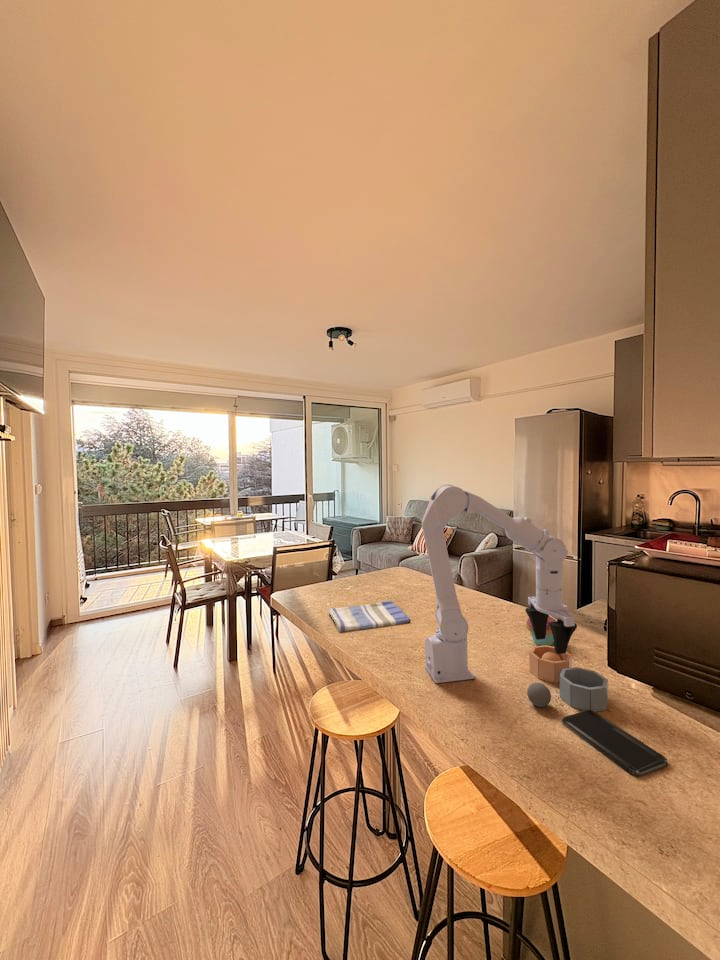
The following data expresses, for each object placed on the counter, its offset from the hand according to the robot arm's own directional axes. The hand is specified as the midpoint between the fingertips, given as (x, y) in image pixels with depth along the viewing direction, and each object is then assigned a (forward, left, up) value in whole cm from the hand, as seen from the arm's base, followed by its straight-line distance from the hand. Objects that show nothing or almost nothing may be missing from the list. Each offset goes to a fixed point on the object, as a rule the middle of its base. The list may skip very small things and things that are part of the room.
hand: (550, 645), depth 95 cm
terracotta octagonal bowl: (0, 0, -6) cm, 6 cm away
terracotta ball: (0, 0, -4) cm, 4 cm away
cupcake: (+8, +15, -7) cm, 18 cm away
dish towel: (-35, +44, -7) cm, 57 cm away
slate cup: (0, -11, -6) cm, 13 cm away
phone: (-4, -23, -7) cm, 25 cm away
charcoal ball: (-10, -11, -4) cm, 15 cm away
